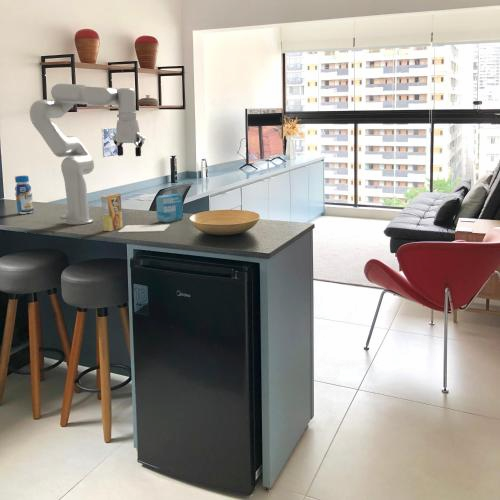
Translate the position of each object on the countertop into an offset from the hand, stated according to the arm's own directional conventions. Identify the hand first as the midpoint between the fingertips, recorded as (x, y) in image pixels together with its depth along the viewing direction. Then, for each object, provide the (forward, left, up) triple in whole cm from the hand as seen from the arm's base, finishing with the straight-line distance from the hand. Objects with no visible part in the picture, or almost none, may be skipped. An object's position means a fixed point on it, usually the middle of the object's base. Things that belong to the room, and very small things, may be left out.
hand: (129, 155), depth 266 cm
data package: (+15, +8, -32) cm, 36 cm away
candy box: (-7, -11, -32) cm, 34 cm away
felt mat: (+7, -12, -31) cm, 34 cm away
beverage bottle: (-70, +42, -32) cm, 87 cm away
